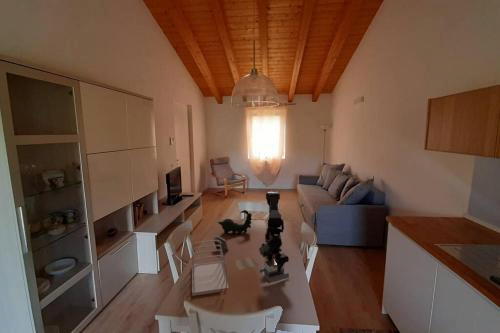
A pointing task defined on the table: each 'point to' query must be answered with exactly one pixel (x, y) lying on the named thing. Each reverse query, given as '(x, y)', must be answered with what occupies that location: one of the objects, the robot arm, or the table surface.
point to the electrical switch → (223, 243)
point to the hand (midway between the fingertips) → (274, 266)
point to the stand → (245, 263)
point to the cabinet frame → (275, 278)
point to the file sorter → (208, 273)
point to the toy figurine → (231, 226)
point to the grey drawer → (272, 268)
